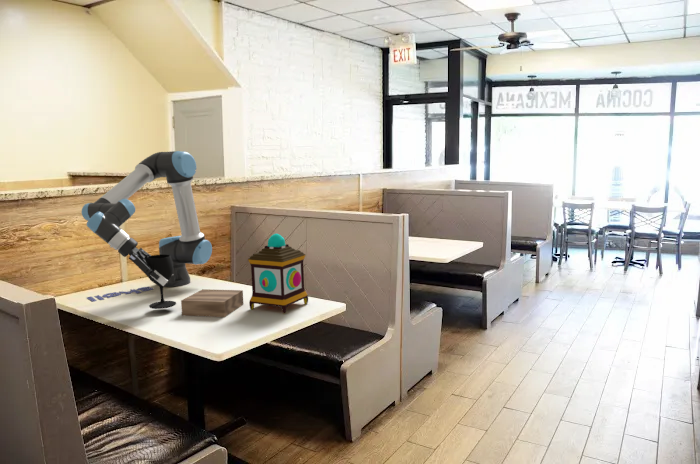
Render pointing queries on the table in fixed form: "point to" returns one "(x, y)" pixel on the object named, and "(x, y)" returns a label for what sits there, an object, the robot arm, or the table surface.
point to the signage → (119, 293)
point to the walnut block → (212, 303)
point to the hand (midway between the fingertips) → (168, 280)
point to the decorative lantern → (277, 275)
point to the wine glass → (164, 268)
